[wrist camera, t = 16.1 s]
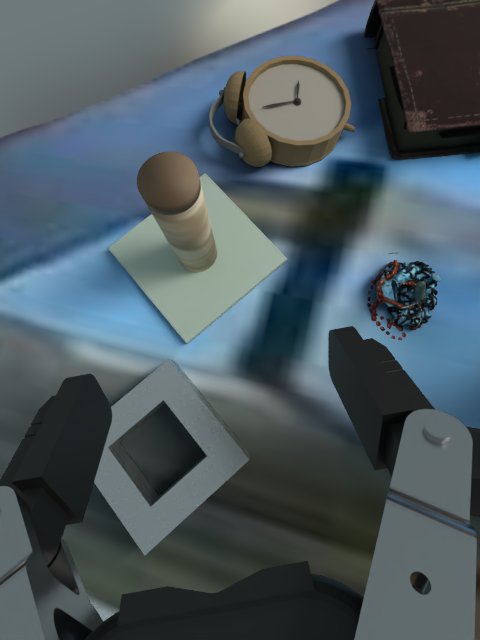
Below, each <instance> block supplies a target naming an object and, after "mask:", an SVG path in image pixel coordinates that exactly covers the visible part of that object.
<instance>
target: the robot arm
mask: <svg viewBox="0 0 480 640" xmlns="http://www.w3.org/2000/svg"><path fill="white" fill-rule="evenodd" d="M329 372H330V376H331V379H332V382H333V384H334V386H335V388H336V390H337V392H338V394H339V396H340V399H341V401H342V403H343V405H344V407H345V409H346V411H347V413H348V415H349V417H350V419H351V421H352V423H353V425H354V428H355V430H356V432H357V434H358V436H359V438H360V440H361V442H362V444H363V446H364V448H365V450H366V452H367V454H368V457H369V459H370V461H371V463H372V465H373V467H374V469H375V470H378V469H383V468H388V470H389V472H390V474H391V476H392V480H391V484H390V489H389V492H388V496H387V500H386V504H385V509H384V513H383V517H382V522H381V526H380V530H379V535H378V539H377V543H376V548H375V552H374V556H373V561H372V565H371V569H370V573H369V578H368V582H367V586H366V591H365V595H364V598H363V597H362V596H361V595H360V594H358V593H357V592H356V591H354V590H352V589H351V588H349V587H348V586H346V585H344V584H342V583H340V582H338V581H336V580H333V579H331V578H327V577H324V576H321V575H315V574H311V573H310V569H309V565H308V561H305V562H299V563H294V564H288V565H283V566H277V567H272V568H266V569H262V570H260V571H258V572H256V573H254V574H252V575H250V576H248V577H247V578H245V579H243V580H241V581H239V582H237V583H235V584H233V585H232V586H230V587H228V588H226V589H224V590H222V591H220V592H218V593H205V592H199V591H192V590H186V589H180V588H174V587H162V588H157V589H151V590H146V591H140V592H135V593H129V594H124V595H122V598H121V604H120V610H119V612H117V613H115V614H114V615H113V616H111V617H110V618H108V619H107V620H105V621H104V622H103V621H102V619H101V617H100V616H99V614H98V612H97V611H96V610H95V608H94V607H93V605H92V604H91V602H90V600H89V598H88V596H87V594H86V592H85V589H84V586H83V584H82V581H81V579H80V576H79V574H78V571H77V569H76V566H75V564H74V561H73V559H72V556H71V553H70V551H69V548H68V546H67V543H66V541H65V539H64V538H63V537H62V535H63V532H64V529H65V526H66V525H69V524H74V523H80V522H82V521H83V518H84V514H85V511H86V508H87V504H88V501H89V497H90V494H91V491H92V487H93V484H94V480H95V477H96V474H97V470H98V467H99V463H100V460H101V457H102V453H103V450H104V446H105V443H106V439H107V436H108V433H109V429H110V426H111V422H112V409H111V406H110V403H109V402H108V400H107V398H106V396H105V394H104V393H103V391H102V389H101V387H100V385H99V384H98V382H97V380H96V378H95V377H94V376H93V375H92V374H85V375H80V376H74V377H69V378H66V379H65V380H64V381H63V383H62V385H61V387H60V389H59V391H58V393H57V395H56V396H52V397H51V398H50V399H49V400H48V401H47V402H46V403H45V404H44V405H43V406H42V407H41V408H40V409H39V411H38V413H37V414H36V416H35V418H34V420H33V422H32V423H31V425H32V426H31V427H29V429H28V431H27V433H26V434H25V439H23V440H22V442H21V443H20V445H19V447H18V449H17V451H16V453H15V454H14V456H13V458H12V460H11V462H10V463H9V465H8V467H7V469H6V471H5V473H4V474H3V476H2V478H1V480H0V640H474V632H475V590H476V546H477V543H476V533H475V529H474V528H473V527H471V525H470V515H471V516H477V517H480V429H477V428H470V427H466V426H465V425H464V424H463V423H462V422H460V421H459V420H458V419H456V418H455V417H453V416H451V415H449V414H447V413H445V412H442V411H439V410H435V409H434V407H433V406H432V405H431V404H430V402H429V401H428V400H427V399H426V397H425V396H424V395H423V394H422V392H421V391H420V390H419V388H418V387H417V386H416V385H415V383H414V382H413V381H412V379H411V378H410V377H409V376H408V374H407V373H406V372H405V371H404V370H403V369H402V367H401V365H400V364H399V363H398V362H397V361H395V358H394V356H393V355H392V354H391V353H390V351H389V350H388V349H387V348H386V347H385V346H384V345H382V344H380V343H379V342H377V341H376V340H374V339H372V338H371V339H366V340H363V339H362V337H361V336H360V334H359V333H358V332H357V330H356V329H355V328H354V327H353V326H351V327H345V328H340V329H334V330H330V331H329Z"/></svg>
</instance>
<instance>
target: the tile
mask: <svg viewBox="0 0 480 640" xmlns="http://www.w3.org/2000/svg"><path fill="white" fill-rule="evenodd" d="M200 183H201V187H202V191H203V195H204V199H205V203H206V207H207V211H208V216H209V220H210V224H211V228H212V232H213V236H214V240H215V244H216V249H217V258H216V260H215V262H214V264H213V265H212V266H211V267H210V268H209V269H207V270H205V271H203V272H191V271H188V270H186V269H185V268H184V267H183V266H182V265H181V264H180V262H179V260H178V258H177V257H176V255H175V253H174V251H173V250H172V248H171V246H170V244H169V243H168V241H167V239H166V237H165V236H164V234H163V232H162V230H161V229H160V227H159V225H158V223H157V222H156V220H155V218H154V216H153V215H152V214H151V215H150V216H149V217H147V218H146V219H145V220H144V221H142V222H141V223H140V224H138V225H137V226H136V227H134V228H133V229H132V230H130V231H129V232H128V233H127V234H125V235H124V236H123V237H121V238H120V239H119V240H117V241H116V242H115V243H114V244H112V245H111V246H110V247H108V249H109V250H110V251H111V253H112V254H113V255H114V256H115V257H116V259H117V260H118V261H119V262H120V263H121V265H122V266H123V267H124V268H125V269H126V271H127V272H128V273H129V274H130V276H131V277H132V278H133V279H134V280H135V282H136V283H137V284H138V285H139V286H140V288H141V289H142V290H143V291H144V292H145V294H146V295H147V296H148V297H149V298H150V300H151V301H152V302H153V303H154V305H155V306H156V307H157V308H158V309H159V311H160V312H161V313H162V314H163V315H164V317H165V318H166V319H167V320H168V321H169V323H170V324H171V325H172V326H173V327H174V329H175V330H176V331H177V332H178V333H179V335H180V336H181V337H182V338H183V340H184V341H185V342H186V343H187V344H188V343H189V342H191V341H192V340H193V339H194V338H195V337H197V336H198V335H199V334H200V333H201V332H202V331H204V330H205V329H206V328H207V327H208V326H210V325H211V324H212V323H213V322H214V321H216V320H217V319H218V318H219V317H220V316H222V315H223V314H224V313H225V312H226V311H228V310H229V309H230V308H231V307H232V306H234V305H235V304H236V303H237V302H238V301H239V300H241V299H242V298H243V297H244V296H245V295H247V294H248V293H249V292H250V291H251V290H253V289H254V288H255V287H256V286H257V285H259V284H260V283H261V282H262V281H263V280H265V279H266V278H267V277H268V276H269V275H271V274H272V273H273V272H274V271H275V270H276V269H278V268H279V267H280V266H281V265H282V264H284V263H285V262H286V261H287V258H286V257H285V256H284V255H283V254H282V253H281V252H280V251H279V250H278V249H277V248H276V247H275V246H274V245H273V244H272V242H271V241H270V240H269V239H268V238H267V237H266V236H265V235H264V234H263V233H262V232H261V231H260V230H259V229H258V228H257V227H256V226H255V225H254V224H253V223H252V222H251V221H250V219H249V218H248V217H247V216H246V215H245V214H244V213H243V212H242V211H241V210H240V209H239V208H238V207H237V206H236V205H235V204H234V203H233V202H232V201H231V200H230V199H229V198H228V196H227V195H226V194H225V193H224V192H223V191H222V190H221V189H220V188H219V187H218V186H217V185H216V184H215V183H214V182H213V181H212V180H211V179H210V178H209V177H208V176H207V175H206V173H205V174H203V175H202V176H201V177H200Z"/></svg>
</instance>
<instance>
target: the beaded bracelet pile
mask: <svg viewBox="0 0 480 640" xmlns="http://www.w3.org/2000/svg"><path fill="white" fill-rule="evenodd" d="M389 254H393V253H389ZM394 254H396V253H394ZM431 270H432V268H430V267H429V265H426V264H424V263H423V262H421V263H420V262H419V261H416V262H411V263H410V264H405V263H398V262H397V260H394V262H390V263H389V265H388V266H386V267H385V270H382V272H381V274H379V275H378V276H377V277H376V280H373V281H372V283H373V284H374V285H375V284H376V285H377V286H376V295H377V299H376V301H375V302H374V303H372V304H370V303H368V307H370V306H371V305H372V309H370V312H371V313H372V315H373V316H372V320H373V321H376V316H377V315H378V314H377V313H376V308H377V306H378V304H379V303H385V304H386V306H387V307H388V311H389V314H390V315H392V319H386V320H387V322H388V324H387V327H388V328H389V329H390V328H391V325H393V326H396V328H398V330H400V331H403V326H404V325H405V324H409V325H410V326H411V328H410V329H411V330H416V328H420V327H421V325H422V323H427V322H428V319H429V318H431V315H430V314H429V313H428V311H429V310H433V309H434V307H435V305H437V298H436V296H435V295H437V290H434V287H436V286H437V282H438V281H440V279H441V278H440V277H439V276H437V275H436V274H434V273H435V272H434V271H431ZM370 288H371V289H373V286H372V285H371V287H370ZM368 294H369V295H370V291H369V292H368ZM368 301H370V297H368ZM380 319H381V320H383V319H384V317H382V316H381V317H380ZM390 321H391V323H390ZM376 325H377V326H380V325H381V324H380V322H379V321H376ZM380 329H381V330H382V331H384V330H385V328H384V327H380ZM386 334H387V335H389V334H390V333H389V332H386ZM402 336H403V337H406V334H405V333H403V335H402ZM392 338H393V339H395V336H392ZM398 340H402V338H401V337H399V338H398Z"/></svg>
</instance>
